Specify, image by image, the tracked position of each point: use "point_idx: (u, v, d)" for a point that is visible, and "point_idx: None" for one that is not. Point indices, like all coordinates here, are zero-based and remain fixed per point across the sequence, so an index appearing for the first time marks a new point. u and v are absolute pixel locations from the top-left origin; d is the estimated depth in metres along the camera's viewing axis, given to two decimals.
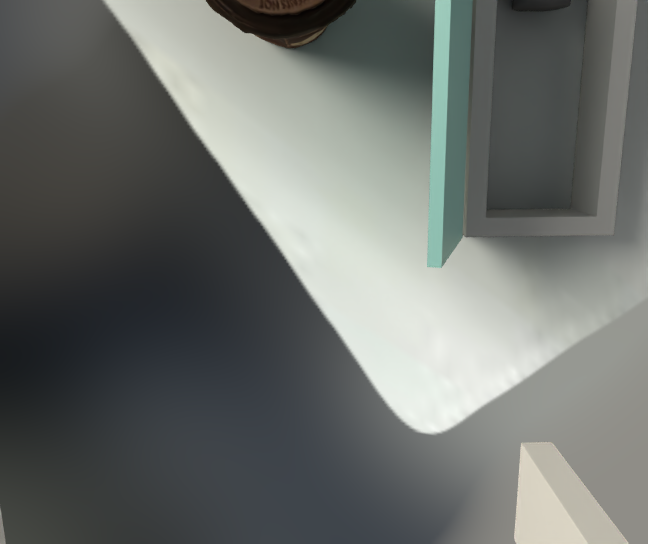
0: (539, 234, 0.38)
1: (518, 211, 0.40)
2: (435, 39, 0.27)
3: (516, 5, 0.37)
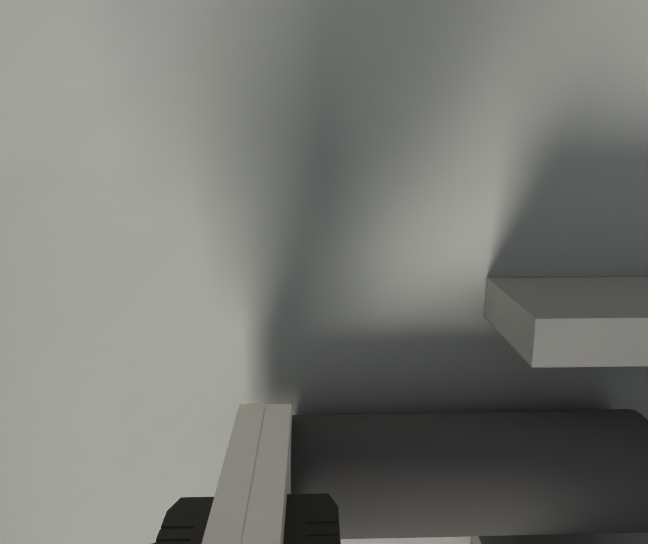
0: None
1: None
2: None
3: None
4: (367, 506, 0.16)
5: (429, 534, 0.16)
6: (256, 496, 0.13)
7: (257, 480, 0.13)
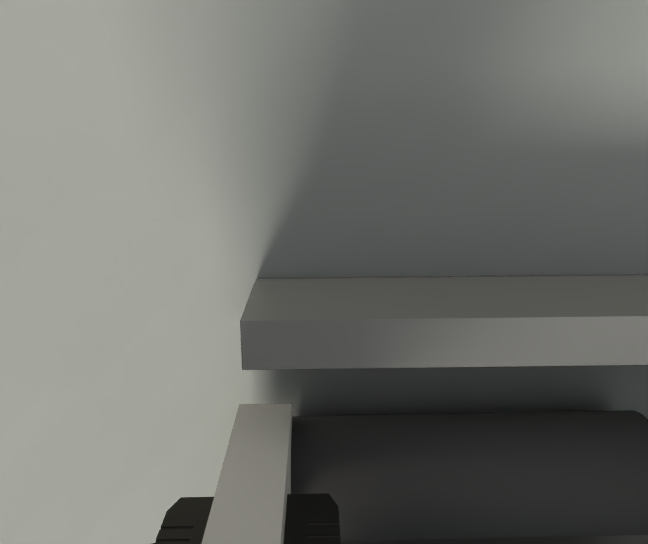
0: None
1: None
2: None
3: None
4: (368, 508, 0.16)
5: (430, 536, 0.16)
6: (256, 496, 0.13)
7: (257, 480, 0.13)
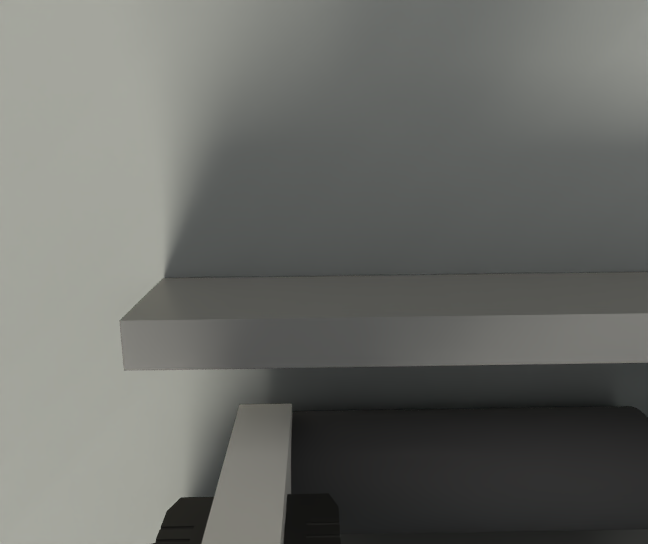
0: None
1: None
2: None
3: None
4: (367, 500, 0.16)
5: (429, 529, 0.16)
6: (256, 496, 0.13)
7: (257, 480, 0.13)
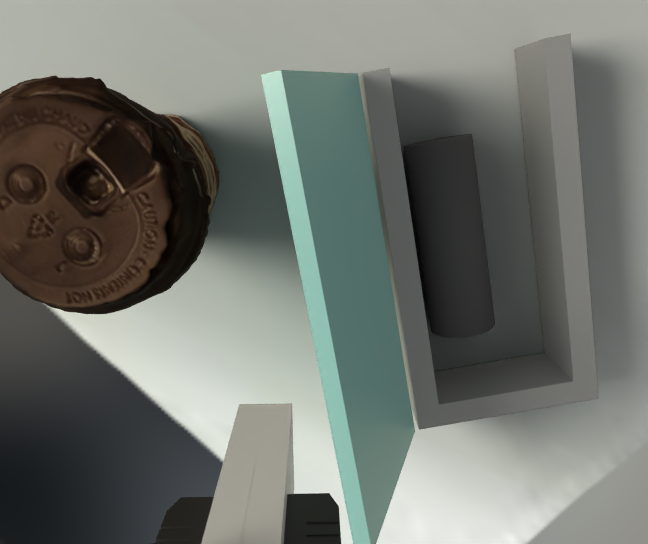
0: (507, 412, 0.31)
1: (481, 373, 0.34)
2: (306, 293, 0.21)
3: None
4: (441, 184, 0.29)
5: (424, 220, 0.30)
6: (256, 496, 0.13)
7: (257, 480, 0.13)
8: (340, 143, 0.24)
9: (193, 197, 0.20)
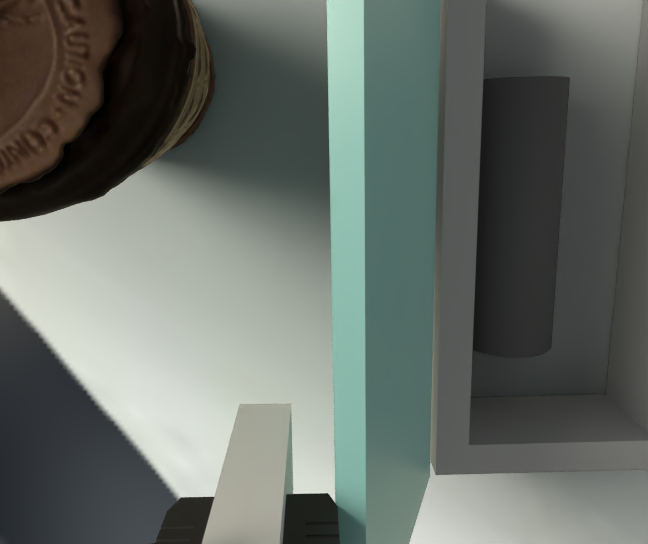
0: (559, 468, 0.23)
1: (523, 409, 0.25)
2: (333, 236, 0.12)
3: None
4: (512, 138, 0.21)
5: (479, 187, 0.22)
6: (255, 496, 0.13)
7: (257, 480, 0.13)
8: (414, 22, 0.15)
9: (165, 35, 0.12)
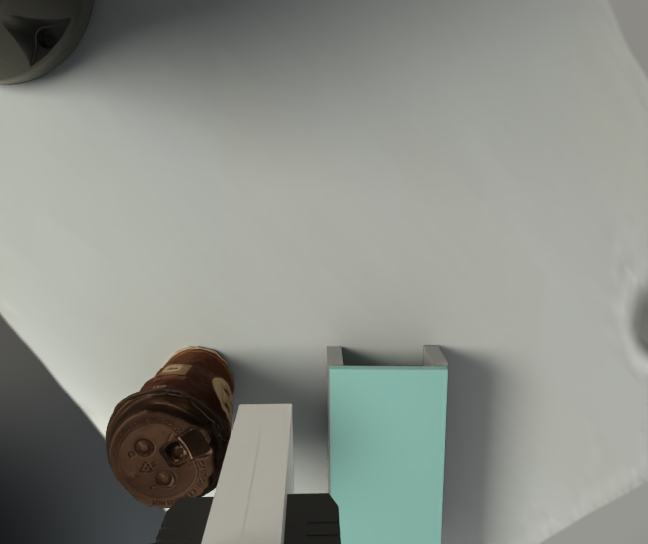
0: None
1: None
2: None
3: None
4: None
5: None
6: (256, 496, 0.13)
7: (257, 480, 0.13)
8: None
9: None
